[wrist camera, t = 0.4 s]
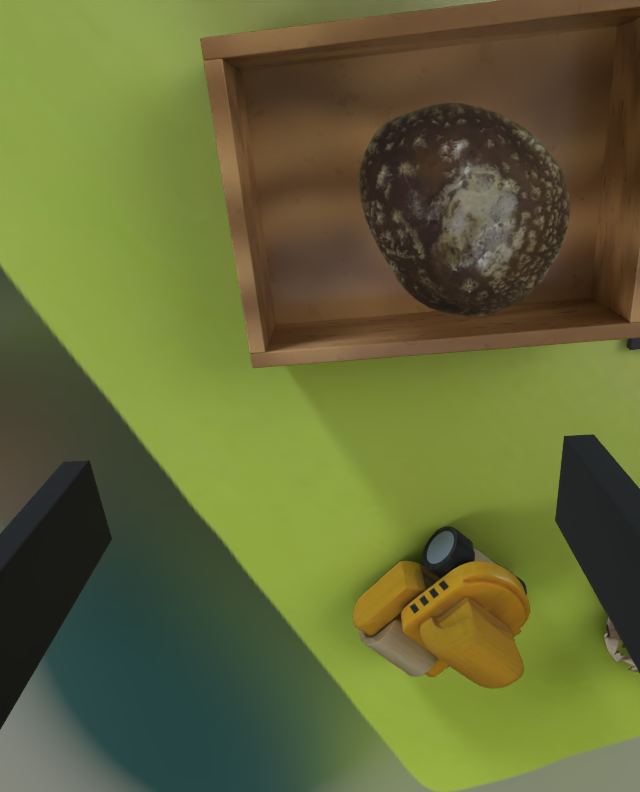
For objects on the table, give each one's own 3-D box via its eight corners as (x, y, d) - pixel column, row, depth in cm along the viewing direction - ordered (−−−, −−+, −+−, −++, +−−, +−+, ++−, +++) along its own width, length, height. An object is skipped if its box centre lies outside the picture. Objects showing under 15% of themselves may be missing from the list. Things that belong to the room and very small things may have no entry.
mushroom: (506, 243, 38) (597, 301, 24) (380, 280, 39) (399, 353, 26) (480, 91, 34) (571, 57, 21) (343, 136, 36) (342, 133, 22)
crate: (223, 55, 34) (199, 37, 29) (634, 4, 33) (696, -25, 27) (264, 337, 42) (251, 368, 36) (602, 309, 40) (645, 337, 34)
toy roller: (344, 602, 52) (344, 706, 42) (459, 505, 47) (488, 598, 37) (413, 650, 54) (428, 760, 44) (531, 562, 49) (575, 664, 40)
